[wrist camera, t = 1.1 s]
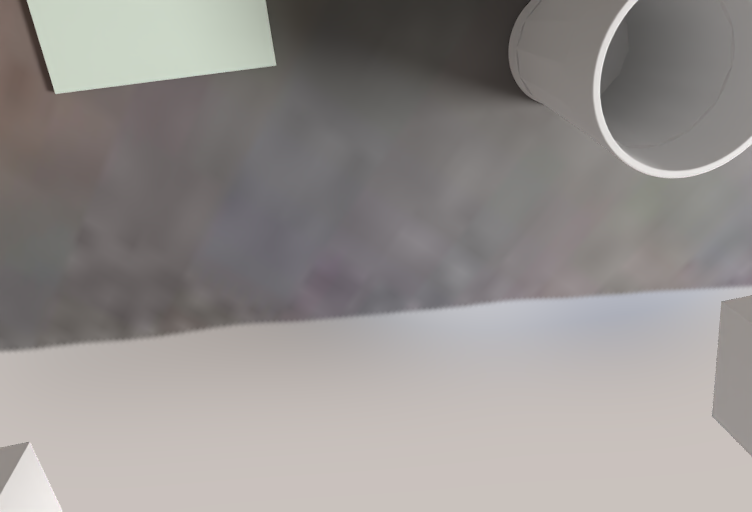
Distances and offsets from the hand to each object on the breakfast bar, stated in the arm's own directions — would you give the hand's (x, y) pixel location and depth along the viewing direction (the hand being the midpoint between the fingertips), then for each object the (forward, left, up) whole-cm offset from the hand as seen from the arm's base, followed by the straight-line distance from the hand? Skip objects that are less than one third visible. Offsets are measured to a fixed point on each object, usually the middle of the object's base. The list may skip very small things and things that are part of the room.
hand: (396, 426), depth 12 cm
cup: (-3, +14, -25) cm, 29 cm away
